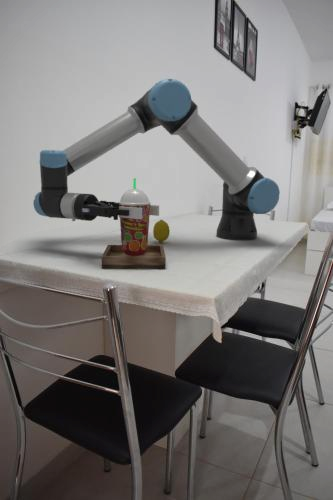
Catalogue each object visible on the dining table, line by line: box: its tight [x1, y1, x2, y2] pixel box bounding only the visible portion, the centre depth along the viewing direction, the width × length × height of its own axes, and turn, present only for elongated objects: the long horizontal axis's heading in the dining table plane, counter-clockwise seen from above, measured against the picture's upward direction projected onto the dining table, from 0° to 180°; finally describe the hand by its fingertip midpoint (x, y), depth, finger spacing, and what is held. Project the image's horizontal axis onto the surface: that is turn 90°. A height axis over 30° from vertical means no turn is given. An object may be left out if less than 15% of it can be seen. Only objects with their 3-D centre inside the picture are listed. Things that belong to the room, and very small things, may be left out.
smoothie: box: [118, 177, 152, 256], centre depth 103 cm, size 8×8×20 cm
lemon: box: [152, 219, 171, 244], centre depth 132 cm, size 6×6×8 cm
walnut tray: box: [100, 244, 167, 270], centre depth 105 cm, size 16×16×3 cm
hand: (150, 212), depth 101 cm, fingers closed on smoothie, 8 cm apart
